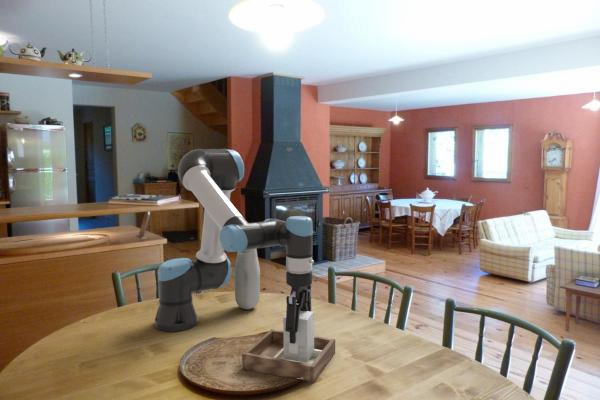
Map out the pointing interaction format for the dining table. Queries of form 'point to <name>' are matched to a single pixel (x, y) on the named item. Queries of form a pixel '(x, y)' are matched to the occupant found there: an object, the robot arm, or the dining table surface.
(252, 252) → the grey rounded cylinder
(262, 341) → the crate
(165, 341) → the dining table surface
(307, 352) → the supplement box
